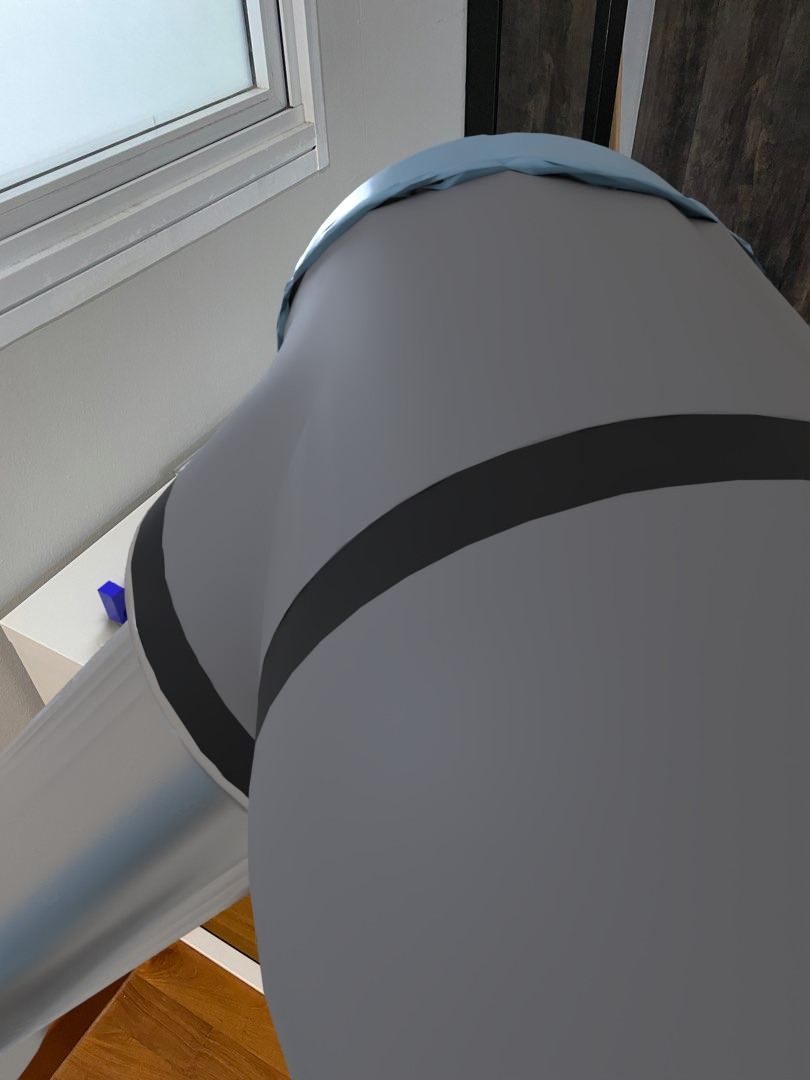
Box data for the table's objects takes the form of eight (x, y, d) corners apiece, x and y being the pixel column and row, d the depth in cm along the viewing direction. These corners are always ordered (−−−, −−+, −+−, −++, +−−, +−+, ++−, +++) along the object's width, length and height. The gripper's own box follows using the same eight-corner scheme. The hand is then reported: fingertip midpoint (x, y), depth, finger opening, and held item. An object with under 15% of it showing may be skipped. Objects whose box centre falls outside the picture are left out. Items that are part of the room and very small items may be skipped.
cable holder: (156, 563, 87) (147, 536, 85) (180, 576, 86) (171, 548, 83) (98, 611, 82) (86, 583, 80) (122, 625, 81) (111, 597, 78)
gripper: (654, 1072, 47) (394, 833, 58) (841, 786, 60) (597, 636, 71) (679, 1030, 42) (388, 777, 53) (877, 727, 55) (608, 575, 66)
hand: (507, 696), depth 62 cm, fingers open, 13 cm apart
